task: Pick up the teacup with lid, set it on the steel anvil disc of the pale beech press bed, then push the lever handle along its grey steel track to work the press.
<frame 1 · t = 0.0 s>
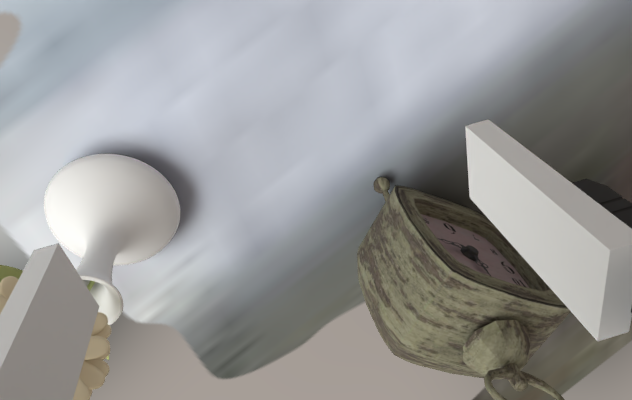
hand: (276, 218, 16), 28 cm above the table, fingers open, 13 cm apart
flower in vase: (112, 194, 45), on the table
tabletop clock: (408, 216, 52), on the table
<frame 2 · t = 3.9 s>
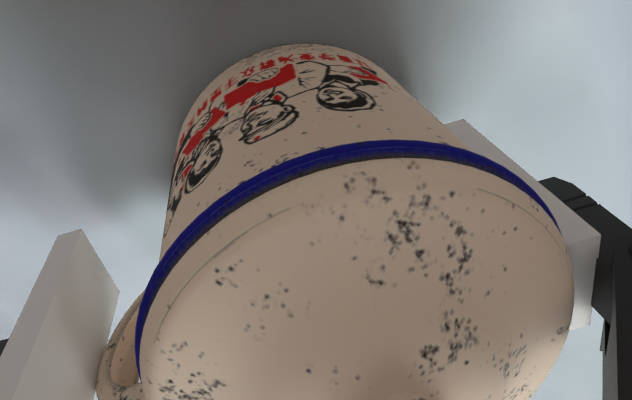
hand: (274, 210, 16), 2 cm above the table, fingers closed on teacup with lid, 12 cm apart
teacup with lid: (266, 182, 18), on the table, touching gripper
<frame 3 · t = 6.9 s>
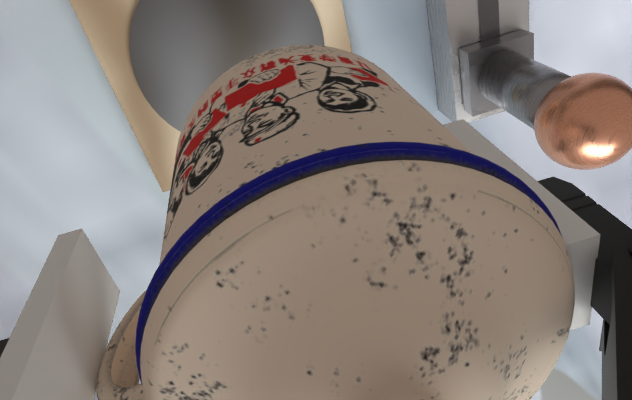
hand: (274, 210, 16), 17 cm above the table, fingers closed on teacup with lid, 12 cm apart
lever handle: (544, 99, 25), point 9 cm above the table, slide at 0.0 cm
press bed: (229, 50, 29), on the table
teacup with lid: (266, 183, 18), point 15 cm above the table, touching gripper
when the fingers open (4 cm above the table, at t = 9.9 s): teacup with lid stays where it is, resting on press bed.
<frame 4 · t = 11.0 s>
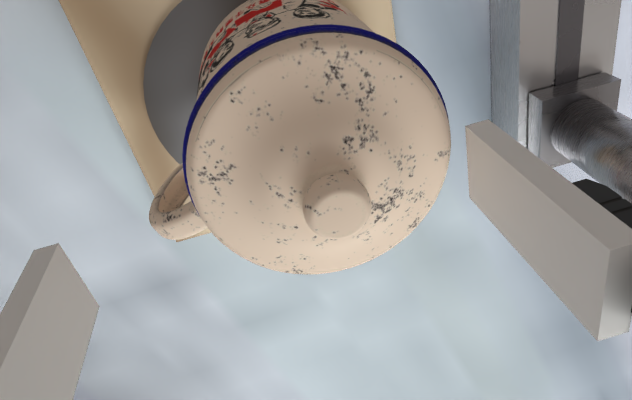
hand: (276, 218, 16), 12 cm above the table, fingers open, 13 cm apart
lever track: (535, 9, 26), on the table
press bed: (259, 85, 25), on the table
teacup with lid: (265, 98, 24), point 2 cm above the table, touching press bed
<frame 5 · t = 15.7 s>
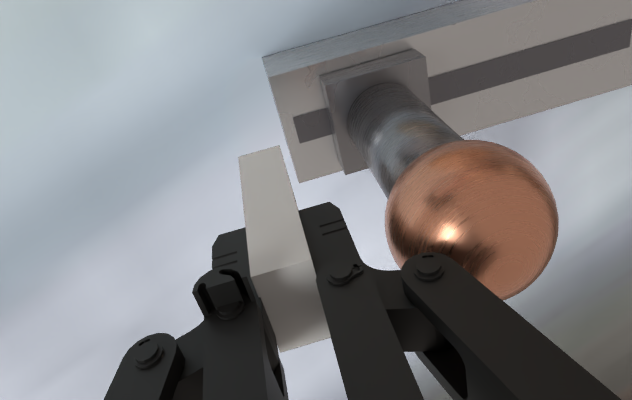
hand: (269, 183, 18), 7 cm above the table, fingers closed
lever track: (437, 62, 23), on the table
lever handle: (422, 167, 16), point 9 cm above the table, slide at 1.0 cm, touching gripper
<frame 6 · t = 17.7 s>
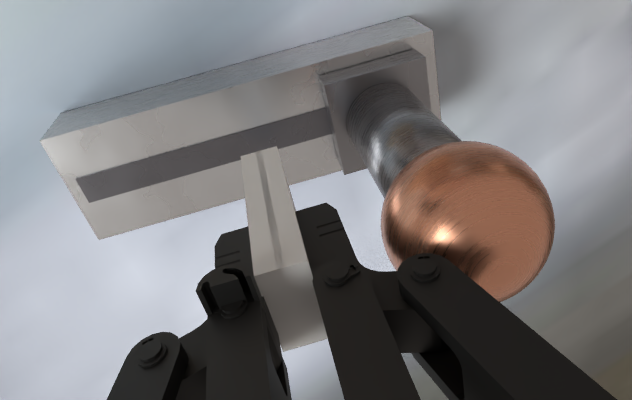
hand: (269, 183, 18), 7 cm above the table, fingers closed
lever track: (252, 115, 23), on the table
lever handle: (420, 167, 16), point 9 cm above the table, slide at 10.2 cm, touching gripper
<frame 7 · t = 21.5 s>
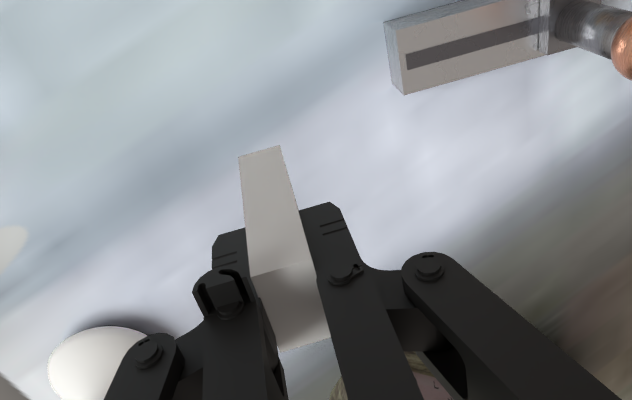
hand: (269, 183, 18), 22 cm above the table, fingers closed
lever track: (482, 27, 39), on the table
flower in vase: (108, 350, 50), on the table
lever handle: (615, 34, 32), point 9 cm above the table, slide at 10.0 cm
tabletop clock: (378, 350, 57), on the table
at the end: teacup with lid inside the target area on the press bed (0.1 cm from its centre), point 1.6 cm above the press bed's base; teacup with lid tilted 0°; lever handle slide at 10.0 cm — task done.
